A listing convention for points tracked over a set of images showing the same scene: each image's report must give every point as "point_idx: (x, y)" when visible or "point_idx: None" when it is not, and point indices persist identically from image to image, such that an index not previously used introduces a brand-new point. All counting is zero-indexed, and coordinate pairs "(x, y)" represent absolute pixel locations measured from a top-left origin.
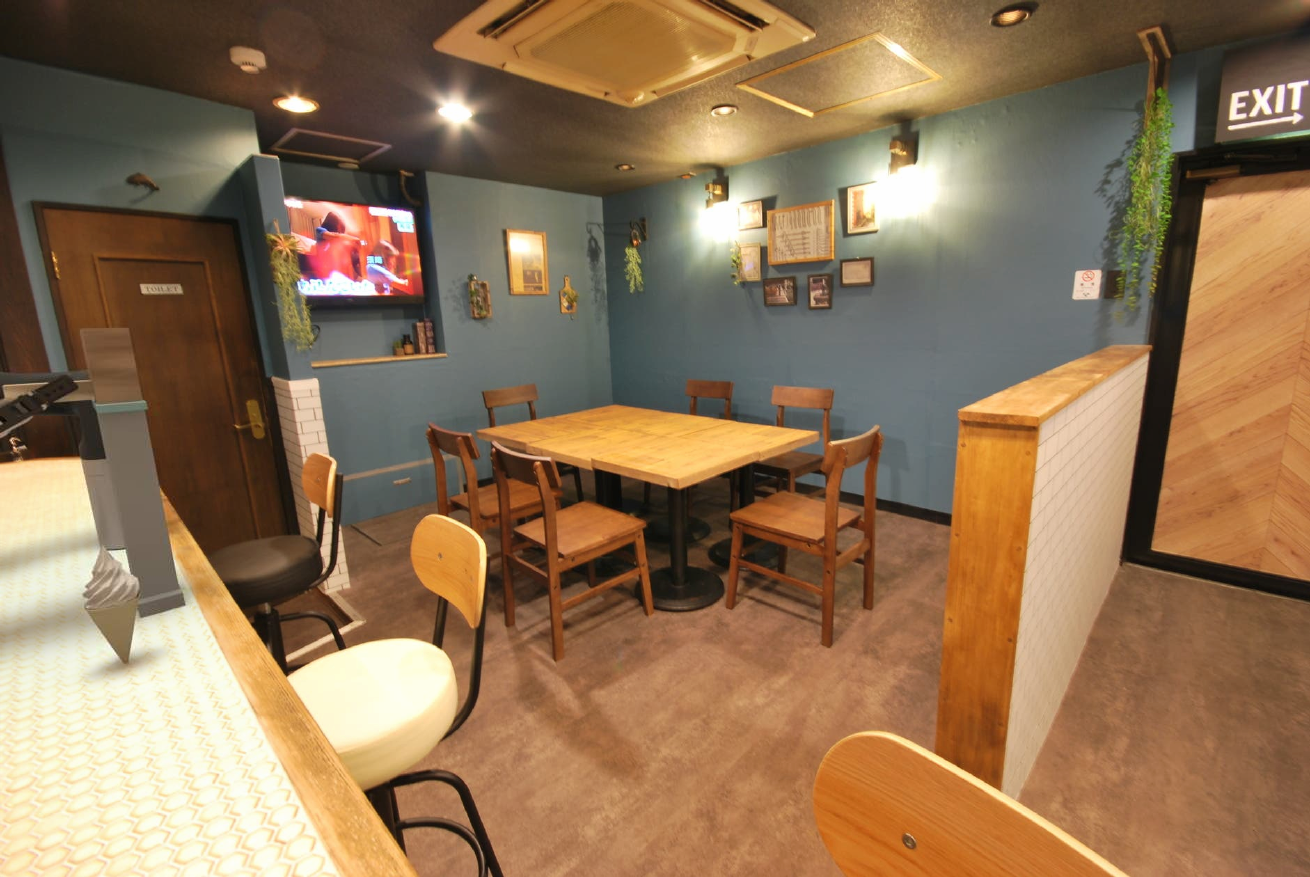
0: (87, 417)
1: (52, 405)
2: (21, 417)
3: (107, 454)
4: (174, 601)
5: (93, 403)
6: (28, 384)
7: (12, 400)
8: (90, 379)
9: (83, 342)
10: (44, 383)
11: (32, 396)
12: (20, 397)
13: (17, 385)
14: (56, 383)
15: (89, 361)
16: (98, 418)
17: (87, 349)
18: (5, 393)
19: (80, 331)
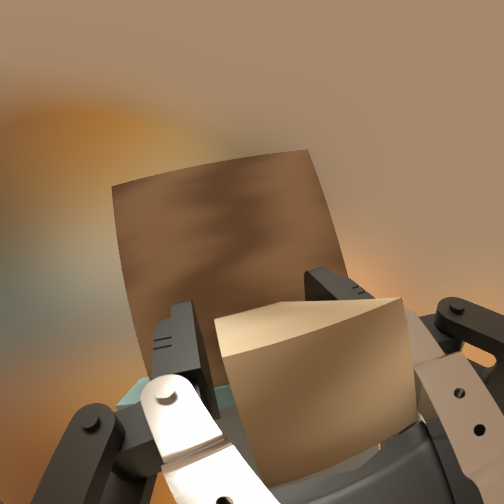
0: None
1: None
2: (486, 370)
3: (357, 458)
4: None
5: (225, 393)
6: (305, 312)
7: (443, 352)
8: (207, 318)
9: (251, 191)
10: (283, 311)
11: (423, 317)
12: (468, 301)
13: (360, 300)
14: (355, 284)
15: (333, 227)
16: (224, 436)
17: (322, 198)
18: (406, 346)
19: (184, 174)
